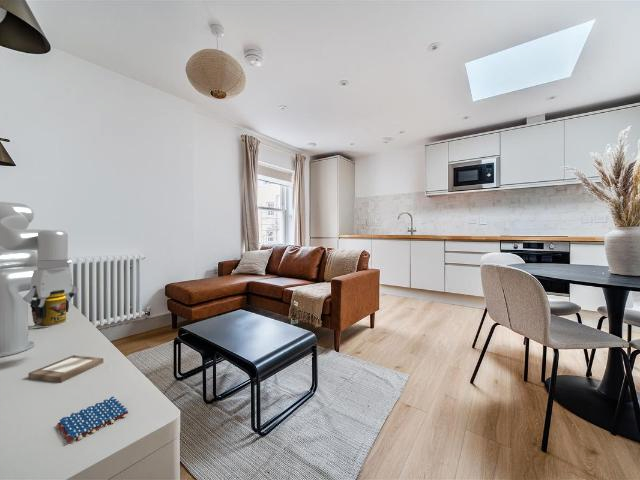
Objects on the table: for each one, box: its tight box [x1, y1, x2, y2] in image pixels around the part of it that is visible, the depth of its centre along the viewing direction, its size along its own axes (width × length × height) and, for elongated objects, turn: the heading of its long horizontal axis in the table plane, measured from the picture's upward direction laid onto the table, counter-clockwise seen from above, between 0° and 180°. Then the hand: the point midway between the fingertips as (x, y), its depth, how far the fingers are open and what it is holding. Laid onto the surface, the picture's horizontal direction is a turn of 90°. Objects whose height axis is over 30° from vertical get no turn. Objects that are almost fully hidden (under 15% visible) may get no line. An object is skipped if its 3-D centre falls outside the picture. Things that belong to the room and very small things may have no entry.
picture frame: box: [27, 354, 104, 383], centre depth 82 cm, size 13×12×2 cm
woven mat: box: [57, 396, 129, 445], centre depth 59 cm, size 10×11×2 cm
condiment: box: [28, 290, 71, 330], centre depth 91 cm, size 7×8×12 cm
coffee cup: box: [29, 304, 51, 329], centre depth 123 cm, size 9×8×13 cm
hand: (52, 314), depth 91 cm, fingers closed on condiment, 6 cm apart
